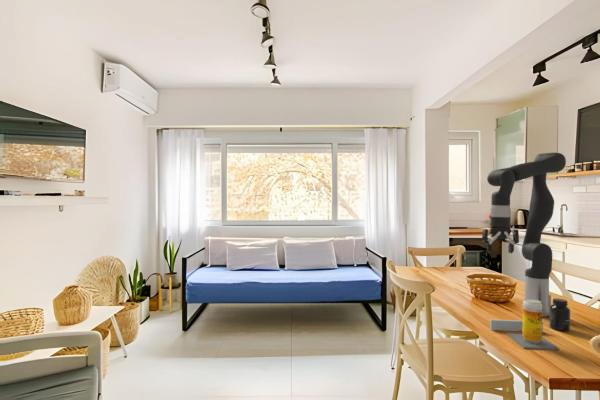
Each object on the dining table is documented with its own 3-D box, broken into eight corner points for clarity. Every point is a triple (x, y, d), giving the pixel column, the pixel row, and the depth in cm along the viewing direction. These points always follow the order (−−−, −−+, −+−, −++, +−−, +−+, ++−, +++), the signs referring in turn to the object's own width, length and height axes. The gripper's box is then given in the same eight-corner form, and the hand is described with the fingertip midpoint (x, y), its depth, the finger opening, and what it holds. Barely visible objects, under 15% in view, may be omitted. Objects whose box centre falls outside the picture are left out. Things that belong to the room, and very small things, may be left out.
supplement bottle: (571, 333, 137) (571, 303, 137) (550, 329, 141) (550, 300, 140) (568, 327, 143) (569, 299, 143) (548, 324, 146) (549, 296, 146)
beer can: (536, 345, 125) (536, 304, 124) (518, 338, 130) (519, 299, 130) (545, 341, 127) (545, 301, 127) (528, 335, 133) (528, 297, 133)
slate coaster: (539, 336, 134) (539, 334, 134) (559, 350, 122) (559, 348, 122) (507, 334, 135) (507, 333, 135) (523, 348, 123) (523, 346, 123)
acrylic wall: (541, 331, 139) (541, 321, 139) (543, 332, 138) (543, 322, 138) (490, 329, 141) (490, 319, 141) (491, 330, 140) (491, 320, 140)
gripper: (513, 215, 152) (512, 251, 152) (479, 215, 153) (479, 251, 154) (522, 216, 144) (522, 254, 145) (487, 216, 146) (486, 254, 146)
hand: (500, 252), depth 149 cm, fingers open, 8 cm apart
